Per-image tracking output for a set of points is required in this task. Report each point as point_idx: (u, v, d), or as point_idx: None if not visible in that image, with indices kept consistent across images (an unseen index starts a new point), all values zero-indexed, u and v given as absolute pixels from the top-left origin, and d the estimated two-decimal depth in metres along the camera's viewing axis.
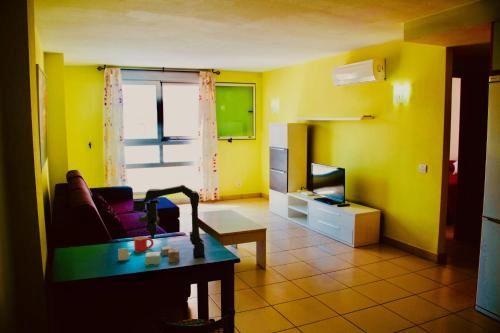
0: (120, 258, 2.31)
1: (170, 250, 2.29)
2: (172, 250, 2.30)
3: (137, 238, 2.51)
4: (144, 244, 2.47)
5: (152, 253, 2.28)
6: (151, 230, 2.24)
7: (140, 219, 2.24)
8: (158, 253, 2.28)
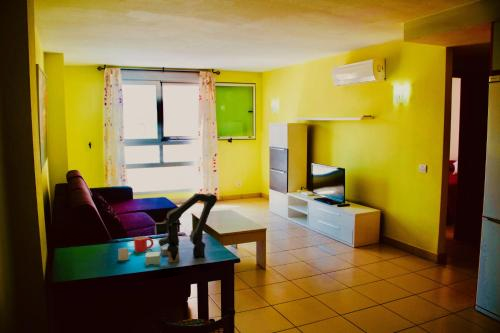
0: (120, 258, 2.31)
1: None
2: None
3: (137, 238, 2.51)
4: (144, 244, 2.47)
5: (152, 253, 2.28)
6: (173, 252, 2.25)
7: (162, 241, 2.23)
8: (158, 253, 2.28)
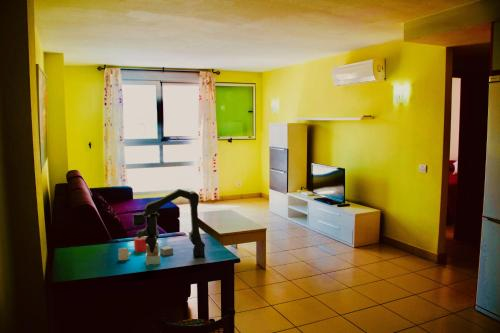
0: (120, 258, 2.31)
1: None
2: None
3: (137, 238, 2.51)
4: (144, 244, 2.47)
5: None
6: (151, 244, 2.20)
7: (139, 233, 2.20)
8: (158, 253, 2.28)
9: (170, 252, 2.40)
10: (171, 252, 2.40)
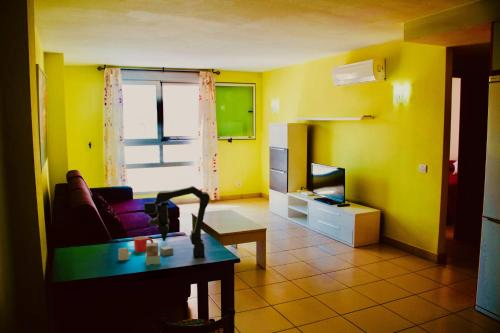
0: (120, 258, 2.31)
1: (148, 244, 2.25)
2: (151, 244, 2.26)
3: (137, 238, 2.51)
4: (144, 244, 2.47)
5: None
6: (163, 232, 2.24)
7: (151, 222, 2.24)
8: (158, 253, 2.28)
9: (170, 252, 2.40)
10: (171, 252, 2.41)
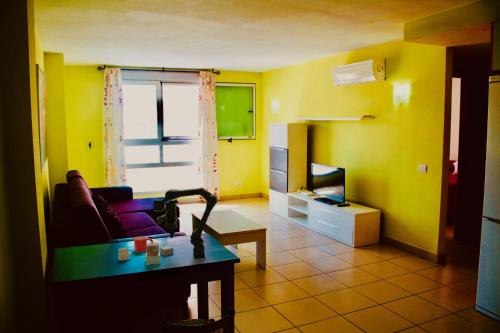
0: (120, 258, 2.31)
1: (148, 244, 2.26)
2: (151, 244, 2.26)
3: (137, 238, 2.51)
4: (144, 244, 2.47)
5: None
6: (170, 230, 2.28)
7: (160, 219, 2.28)
8: (158, 253, 2.28)
9: (170, 252, 2.40)
10: (171, 252, 2.41)
